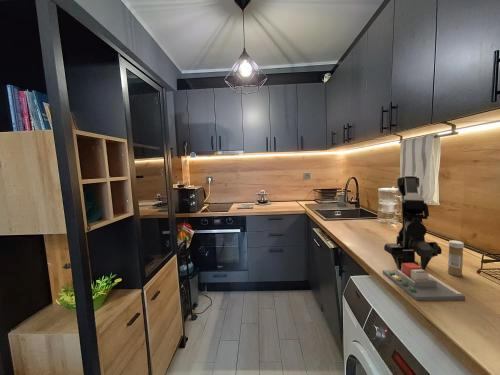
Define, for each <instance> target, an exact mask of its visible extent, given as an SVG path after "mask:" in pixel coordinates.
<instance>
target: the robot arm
mask: <svg viewBox="0 0 500 375" xmlns="http://www.w3.org/2000/svg"><path fill="white" fill-rule="evenodd" d="M419 187H420V178H419V177H417V176H416V175H403V176H402V177H399V178H397V179H396V188H398V193H399V195H401V204H400V206H401V208H400V209H401V219H402V220H401V224H402V225H401V228H400V230H399V231H398V232H397V235H396V240H395V243H394V242H393V243H386V244H384V249H383V250H384V251H385V252H387V253H389V254H390V255H391V257H392V259H393V260H394V264H395V265H396V268H397V270H402V263H414V264H416V265H418V264H419V262H418V261H416V256H418V257H420V265H421V266H420V267H421V269H423V270H424V271H426V269H427V267H428V265H429V263H430V261H431V259H433V258H434V257H438V255H441V254H442V250H443V249H442V247H441V246H440V245H439V244H438V243H437V241H426V240H425V239H426V237H425V236H426V234H427V228H426V226H425V224H424V223H423V220H428V217H429V216H430V211H429V206H428V205H427V202H425V200H424V197H423V196H422V195H420V194H419V191H418V188H419ZM416 254H417V255H416Z"/></svg>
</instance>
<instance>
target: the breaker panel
mask: <svg viewBox="0 0 500 375" xmlns="http://www.w3.org/2000/svg"><path fill="white" fill-rule="evenodd" d="M382 274H383V275H384V276H386V277H387V278H388V279H390V281H392V282H393V283H394V284H395V285H396V286H398V287H399V288H400V289H401V290H403V291H404V292H405V293H406V294H408V295H409V296H410V297H411V298H413V299H414V300H415V301H446V300H447V301H454V300H455V301H456V300H459V301H461V300H463V301H464V300H466V296H465V295H464V294H462V293H461V292H460V291H457V290H456V289H455V288H453V287H452V286H450V285H449V284H447V283H444V282H443V281H441V280H440V279H438V278H436V277H435V276H433V275H432V274H430V273H429V275H428V280H415V281H414V280H412V279H411V278H409V277H408V276H407V275H405V274H404V273H402V269H401V270H398V269H386V270H385V269H383V270H382Z"/></svg>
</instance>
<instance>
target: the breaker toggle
mask: <svg viewBox="0 0 500 375" xmlns="http://www.w3.org/2000/svg"><path fill="white" fill-rule="evenodd" d="M429 274H430V273H429V272H427V270H423V269H422V268H421V269H418V270H411V279H412V280H414V281H415V280H428V275H429Z"/></svg>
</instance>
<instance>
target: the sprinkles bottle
mask: <svg viewBox="0 0 500 375" xmlns="http://www.w3.org/2000/svg"><path fill="white" fill-rule="evenodd" d="M464 248H465V243H464V242H463V241H460V240H453V239H452V240H449V241H448V259H447V260H448V261H447V265H448V267H447V273H448V274H449V275H451V276H455V277H461V276H463V266H464V265H463V264H464V260H463V259H464V258H463V257H464Z"/></svg>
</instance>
